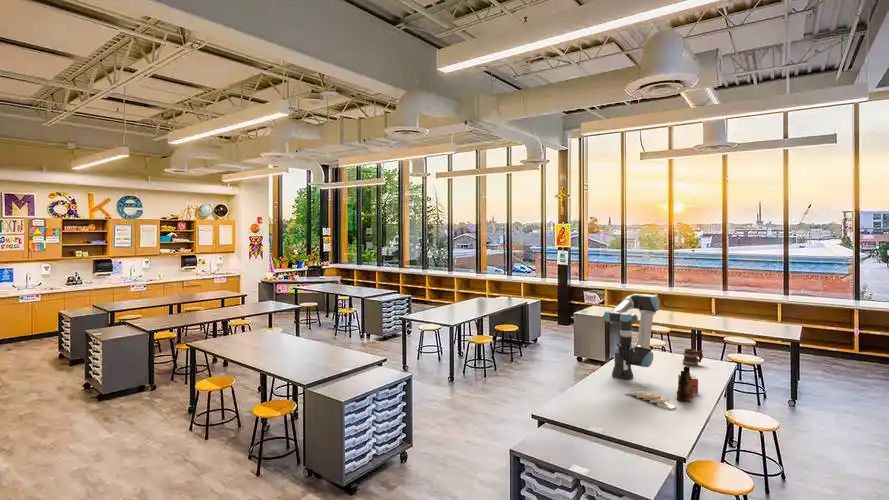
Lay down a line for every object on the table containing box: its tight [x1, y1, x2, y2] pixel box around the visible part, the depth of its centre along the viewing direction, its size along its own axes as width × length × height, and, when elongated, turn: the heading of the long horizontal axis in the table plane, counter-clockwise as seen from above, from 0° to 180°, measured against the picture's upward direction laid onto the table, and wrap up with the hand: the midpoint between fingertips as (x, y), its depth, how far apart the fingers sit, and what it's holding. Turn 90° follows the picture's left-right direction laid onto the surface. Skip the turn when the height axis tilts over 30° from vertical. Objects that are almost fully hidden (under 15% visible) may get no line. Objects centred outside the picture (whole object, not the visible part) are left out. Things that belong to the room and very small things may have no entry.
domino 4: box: [657, 402, 677, 411], centre depth 297 cm, size 2×5×10 cm
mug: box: [682, 348, 704, 367], centre depth 389 cm, size 12×14×15 cm
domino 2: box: [636, 392, 655, 398], centre depth 310 cm, size 2×5×10 cm
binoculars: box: [675, 365, 694, 404], centre depth 311 cm, size 18×8×20 cm, turn 143°
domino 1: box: [629, 390, 648, 395], centre depth 314 cm, size 2×5×10 cm
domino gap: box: [643, 395, 662, 400], centre depth 306 cm, size 2×5×10 cm
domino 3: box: [650, 397, 669, 403], centre depth 301 cm, size 2×5×10 cm
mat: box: [624, 392, 659, 407], centre depth 311 cm, size 24×10×1 cm, turn 30°
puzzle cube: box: [677, 373, 699, 394], centre depth 326 cm, size 10×10×10 cm
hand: (625, 369), depth 323 cm, fingers closed
